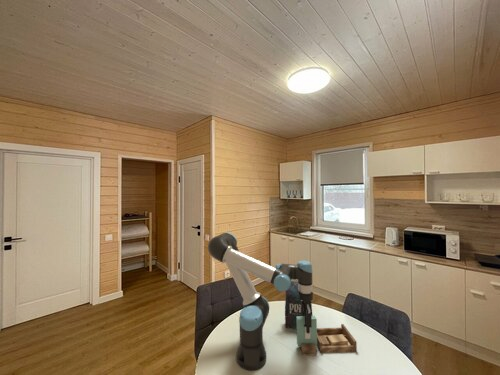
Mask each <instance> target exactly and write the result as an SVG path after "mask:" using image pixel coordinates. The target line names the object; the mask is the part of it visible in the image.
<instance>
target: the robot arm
mask: <svg viewBox="0 0 500 375" xmlns="http://www.w3.org/2000/svg"><path fill="white" fill-rule="evenodd" d="M237 244H238V240H237V238H236V236H235V235H234V234H232V233H231V232H224V233H223V232H222V233H221V234H219V235H216V236H214V237H212V238H211V239H210V240H209V241H208V244H207V251H208V253H209V255H210V256H211V257H212V258H213V259H214V260H216V261H218V262H220V263H222V264H226V266H227V268H228V270H229V273H230V274H231V276H232V279H233V280H234V283H235V285H236V287H237V289H238V291H239V293H240V294H241V297H242V299H243V300H242V305H243V308H242V309H241V310H240V312H239V318H238V320H239V322H238V323H239V344H238V348H237V352H236V363H237V364H238V366H239V367H241V368H242V369H243V370H247V371H256V370H260V369H261V368H262V367H264V365H265V364H266V363H267V351H266V348H265V345H264V340H263V338H264V337H263V336H264V335H263V334H264V333H263V330H264V326H265V323H266V321H267V318H268V317H269V313H270V303H269V301H268V300H267V298H266V297H264V296H262V294H261V292H258V291H257V290H256V288H255V285H254V284H253V281H252V280H251V277H250V275H249V274H251V275H252V276H255V277H257V278H259V279H262V280H263V281H265V282H268V283H270V284H272V285H273V286H274V288H275V289H276V290H277V291H278V292H281V293H284V292H286V290H288V288H289V286H290V284H291V281H292V280H297V282H298V290H299V291H298V297H299V299H300V300H301V316H305V325H304V327H305V339H310V328H311V327H312V315H313V308H312V309H310V307H311V305H310V303H309V302H310V301H311V302H312V301H313V300H314V292H313V291H314V290H313V287H314V284H313V266H312V265H313V264H312V262H310V261H308V260H299V261H298V262H297V264H293V263H292V264H290V263H289V264H288V263H276V265H275V267H274V266H272V265H270V264H268V263H265V262H263V261H261V260H259V259H256V258H254V257H252V256H250V255H247V254H245V253H243V252H240V251H239V250H240V249H239V247H238V245H237Z"/></svg>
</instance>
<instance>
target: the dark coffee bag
mask: <svg viewBox="0 0 500 375" xmlns="http://www.w3.org/2000/svg"><path fill="white" fill-rule="evenodd" d="M298 291H299V290H298V281H293V280H291V284H290V286H289V288H288V290H286V291H285V300H284V302H285V303H284V320H285V322H284V323H285V324H284V325H285V329H291V330H292V329H293V330H297V325H296V316H301V300H300V299H299V297H298ZM309 303H310V305H311V307H310V309H312V310H313V306H312V305H313V303H312V301H310V302H309ZM312 316H314V315H313V314H312Z"/></svg>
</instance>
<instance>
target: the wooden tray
mask: <svg viewBox="0 0 500 375" xmlns="http://www.w3.org/2000/svg"><path fill="white" fill-rule="evenodd" d="M340 334H342V335H343V336H344V337H345V338H346V339H347V340H348V342H349V343H350V345H341V346H330V345H329V346H322V341H321V339H320V337H319V336H325V337H326V339H327V336H330V335H340ZM327 341H328V340H327ZM316 348H317V349H318V351H319V353H322V354H323V353H325V354H326V353H348V352H349V353H350V352H351V353H353V352H357V351H358V350H357V340H356V339H355V338H354V336H353V335H352V334H351V332H350V331H349V330H348V328H347V327H346V326H345V324H344V323H341V324H340V327H322V328H321V327H317V346H316Z"/></svg>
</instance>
